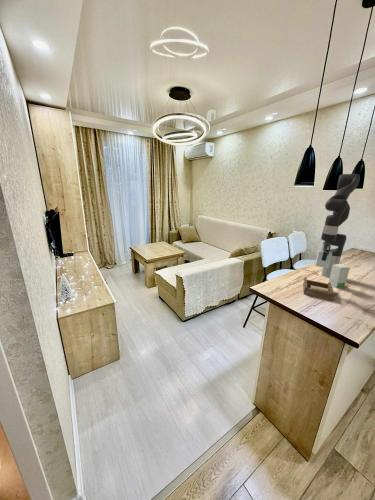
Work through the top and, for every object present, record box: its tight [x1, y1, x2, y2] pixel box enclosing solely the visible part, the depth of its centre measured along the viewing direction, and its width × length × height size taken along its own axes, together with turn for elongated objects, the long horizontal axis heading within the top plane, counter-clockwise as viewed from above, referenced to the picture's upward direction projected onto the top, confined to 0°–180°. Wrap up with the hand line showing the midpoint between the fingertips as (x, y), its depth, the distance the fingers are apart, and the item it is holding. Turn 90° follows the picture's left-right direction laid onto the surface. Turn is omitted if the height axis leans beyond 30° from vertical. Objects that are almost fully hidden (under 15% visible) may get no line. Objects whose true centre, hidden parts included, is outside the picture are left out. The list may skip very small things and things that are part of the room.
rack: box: [302, 277, 335, 301], centre depth 132 cm, size 16×15×6 cm
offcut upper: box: [310, 285, 328, 292], centre depth 129 cm, size 4×9×2 cm, turn 63°
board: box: [314, 249, 332, 268], centre depth 131 cm, size 3×7×10 cm, turn 63°
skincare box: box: [328, 263, 351, 289], centre depth 142 cm, size 8×7×16 cm
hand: (323, 259), depth 131 cm, fingers closed on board, 3 cm apart
